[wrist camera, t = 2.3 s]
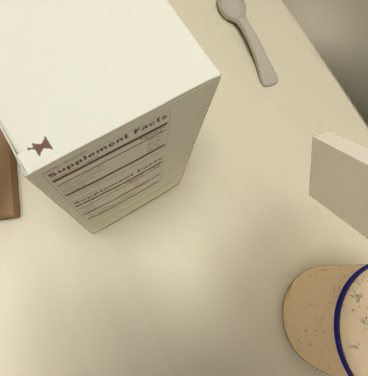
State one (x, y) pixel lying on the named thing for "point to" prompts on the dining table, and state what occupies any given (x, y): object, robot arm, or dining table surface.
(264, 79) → the spoon
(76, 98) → the supplement box
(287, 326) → the teacup with lid
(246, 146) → the dining table surface
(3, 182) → the walnut board
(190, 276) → the dining table surface
